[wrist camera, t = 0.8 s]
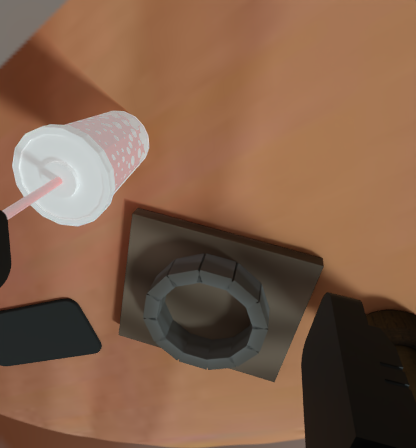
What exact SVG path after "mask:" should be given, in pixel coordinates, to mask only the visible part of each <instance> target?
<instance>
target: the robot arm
mask: <svg viewBox="0 0 416 448" xmlns="http://www.w3.org/2000/svg"><path fill="white" fill-rule="evenodd" d="M10 269H11V253H10V242H9V230H8V220H7V216H6V214H5V213H4V212H3V211H1V210H0V287H1V286H2V285H3V284H4V283H5V281H6V280H7V278H8V275H9V273H10ZM301 369H302V387H303V406H304V424H305V442H306V448H416V402H415V399H414V396H413V393H412V391H411V390H410V389H409V382H408V380H407V377H406V374H405V372H403V366H402V363H401V360H400V357H399V355H398V352H397V349H396V347H395V346H394V344H393V343H392V342H391V341H390V340H389V338H388V337H387V336H386V335H385V333H384V332H383V331H382V330H381V328H378V327H374V326H370V325H368V321H367V318H366V314H365V311H364V308H363V304H362V302H361V301H360V300H357V299H353V298H349V297H345V296H341V295H337V294H333V293H329V292H327V293H326V294H325V295H324V297H323V298H322V301H321V303H320V306H319V308H318V311H317V313H316V316H315V318H314V321H313V323H312V326H311V328H310V331H309V333H308V336H307V338H306V341H305V344H304V349H303V354H302V363H301Z"/></svg>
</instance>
